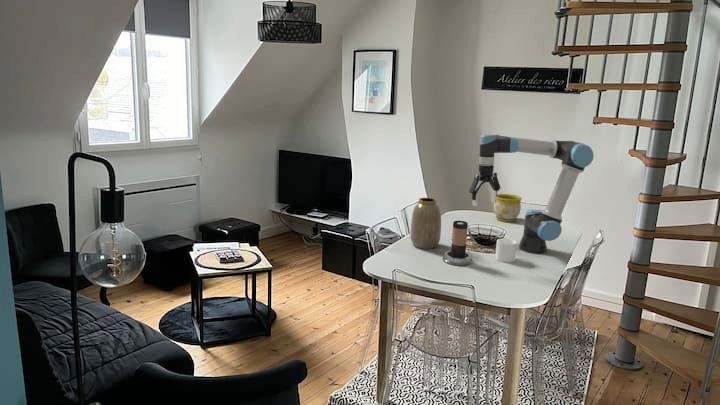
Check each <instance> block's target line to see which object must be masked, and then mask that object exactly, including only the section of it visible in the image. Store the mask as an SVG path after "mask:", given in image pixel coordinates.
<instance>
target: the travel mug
mask: <svg viewBox="0 0 720 405" xmlns="http://www.w3.org/2000/svg"><path fill="white" fill-rule="evenodd" d="M468 227H469V223H468V222H467V221H463V220H454V221H453V222H452V233H451V235H452V236H451V245H450V246H451V247H450V248H451V249H450V251H451V257H454V258H465V252H467V251H466V250H467V243H468V242H467V239H468Z"/></svg>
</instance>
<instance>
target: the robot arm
mask: <svg viewBox="0 0 720 405" xmlns="http://www.w3.org/2000/svg"><path fill="white" fill-rule="evenodd" d="M499 153H500V154H508V153H509V154H512V153H523V154H525V153H526V154H533V155H539V156H541V155H542V156H549V158H551V159H557V160H560V161H561V163H560V165H561V166H562V169H561V171H560V174H559V176H558V178H557V181H556V183H555V185H554V187H553V191H552V192H551V195H550V198H549V199H548V201H547V204H546V206H545V209H544V210H543V209H527V210H526V211H525V215H524V226H523V234H522V237H521V239H520V241H519V243H518V248H519V249H520V250H521V251H523V252H527V253H530V254H531V253H532V254H533V253H534V254H543V253H547V250H548V249H547V248H548V246H547V241H548V242H551V241H554V240H556V239H558V238H559V237H560V236H561V234H562V230H563V229H562V226H561V224H562V222H563V217H562V214H563V212H564V209H565V207H566V205H567V202H568V201H569V197H570V195H571V193H572V191H573V188H574V187H575V184H576V181H577V179H578V176H579V175H580V174H582V173H583V172H584V171H585V169H586V167H588V166H589V165H590V164H592V162H593V160H594V151H593V149H592V148H591V147H590V146H589V145H588V144H585V143H581V142H576V141H573V140H555V139H553V140H551V141H546V140H539V139H531V138H530V139H529V138H523V137H522V138H521V137H514V136H513V137H512V136H506V135H505V136H504V135H500V134H492V133H490V134H489V133H488V134H486V133H484V134H482V135H480V139H479V159H478V161H479V162H478V164H479V165H478V172H479V174H474V177H473V181H472V183H471V186H470V188H469V190H468V193H470V194H471V199H472V206H474V207H478V199H479V198H478V195H479V194H478V192H479V190H480V188H481V187H482V185H483V184H485V183H489V185H490V187H491V188H492V190H491V198H490V199H491V201H490V202H491V203H492V204H494V203H496V196H497V194H498V192H499V191H500V190H501V185H500V181H499V179H498V172H494V167H495V166H494V164H495V154H499Z"/></svg>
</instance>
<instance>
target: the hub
mask: <svg viewBox="0 0 720 405" xmlns="http://www.w3.org/2000/svg"><path fill="white" fill-rule="evenodd" d="M442 261H443V262H444V263H445V264H447V265H451V266H457V267H465V266H470V265H472V263H473V260H472V255H471V254H470V253H469V252H467V251H466V252H465V258H454V257H451V250H448V251H445V253H444V255H443V256H442Z"/></svg>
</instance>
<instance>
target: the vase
mask: <svg viewBox="0 0 720 405" xmlns="http://www.w3.org/2000/svg"><path fill="white" fill-rule="evenodd" d="M441 211H442V210H441V208H440V206H439V205H438V204H437V199H435V198H433V197H420V198H419V199H418V203H417V204H416V205H414V208H413V210H412V215H411V219H410V220H411V221H410V222H411V223H410V242H411V243H412V245H413V246H414V247H416V248H418V249H426V250H429V249H430V250H431V249H434V248H437V247H438V246H439V243H440V241H441V234H442V212H441Z"/></svg>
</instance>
